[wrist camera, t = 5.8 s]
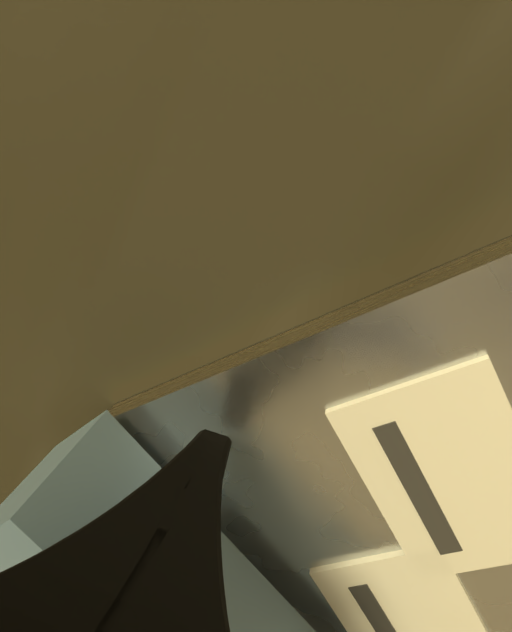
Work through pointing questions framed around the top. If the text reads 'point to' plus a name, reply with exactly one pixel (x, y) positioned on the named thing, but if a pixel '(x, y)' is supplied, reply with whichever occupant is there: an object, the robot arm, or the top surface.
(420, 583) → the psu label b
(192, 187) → the top surface
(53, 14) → the top surface
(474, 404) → the power supply label
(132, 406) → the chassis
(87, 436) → the swing arm
